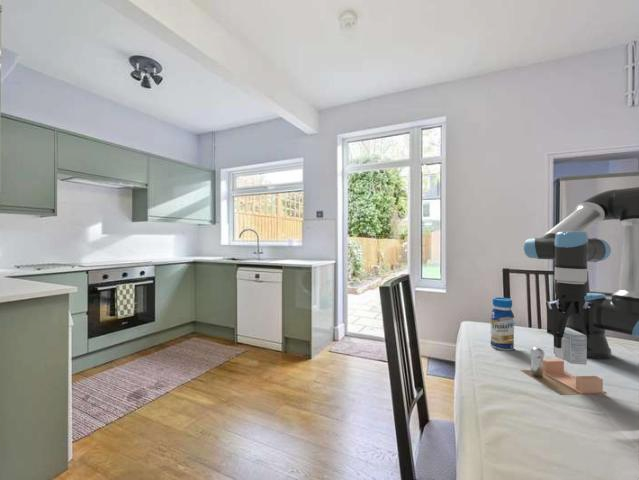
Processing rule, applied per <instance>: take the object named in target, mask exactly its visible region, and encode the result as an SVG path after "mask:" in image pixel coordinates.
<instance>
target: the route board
mask: <svg viewBox="0 0 639 480" xmlns="http://www.w3.org/2000/svg"><path fill="white" fill-rule="evenodd" d="M520 372H522V373H524V374H525V375H527V376H528V377H530V378H532V379H533V380H536V381H537V383H540V384H542V385H544V386H545V387H547V388H548V389H550V390H552V391H554V392H555V393H557V394H558V395H561V396H566V395H567V396H569V395H570V396H571V395H581V394H580V393H578V392H576V391H575V390H573V389H571V388H569V387H567V386H566V385H564V384H562V383H560V382H558V381H557V380H555V379H553V378H551V377H549V376H547V375H546V374H544V373H543V378H537V377H534V376H532V375H531V369H521V370H520ZM564 372H565V373H567V374H569V375H571V376H573V377H575V378H576V376H574V375H572V374H570V373H568V372H566V371H564ZM603 392H604V393H598V394H607V391H604V390H603ZM598 394H597V395H598Z"/></svg>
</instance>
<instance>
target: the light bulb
mask: <svg viewBox="0 0 639 480" xmlns="http://www.w3.org/2000/svg"><path fill="white" fill-rule="evenodd" d="M529 353H530V356H531V357H530V359H531V360H530V361H531V362H530V364H531V365H530V367H531V368H530V370H531V375H532V376H534V377H537V378H543V359H544V357H545V351H544V350H543V349H542V348H540V347H538V346H534V347H532V348H531V349H530V351H529Z"/></svg>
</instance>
